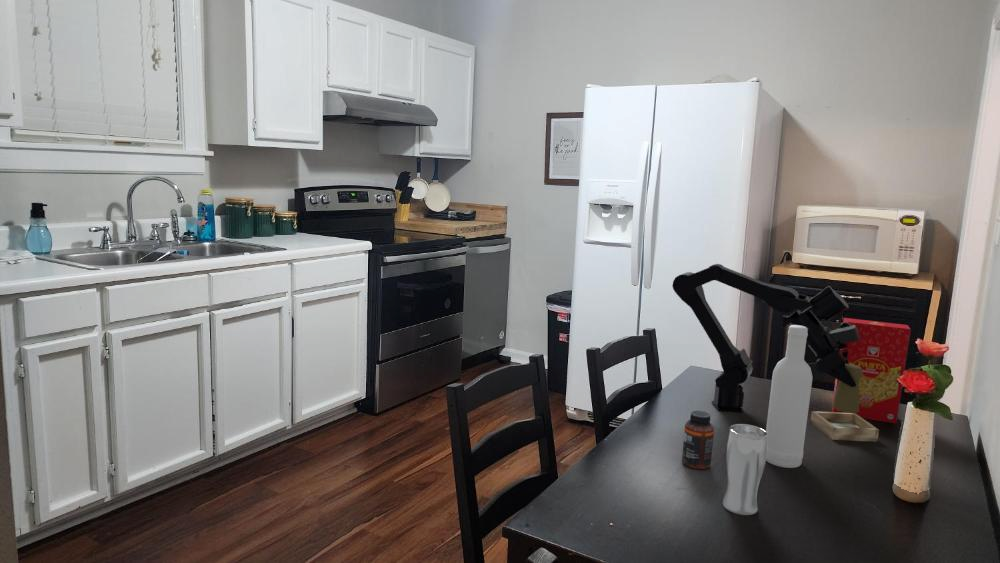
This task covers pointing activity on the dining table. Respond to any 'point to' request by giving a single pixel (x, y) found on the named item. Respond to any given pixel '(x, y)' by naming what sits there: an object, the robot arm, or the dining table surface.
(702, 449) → the supplement bottle
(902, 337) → the food packaging
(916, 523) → the dining table surface
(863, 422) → the oak box
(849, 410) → the olive green pepper shaker
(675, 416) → the dining table surface
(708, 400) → the dining table surface
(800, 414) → the bottle
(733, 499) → the beer glass
